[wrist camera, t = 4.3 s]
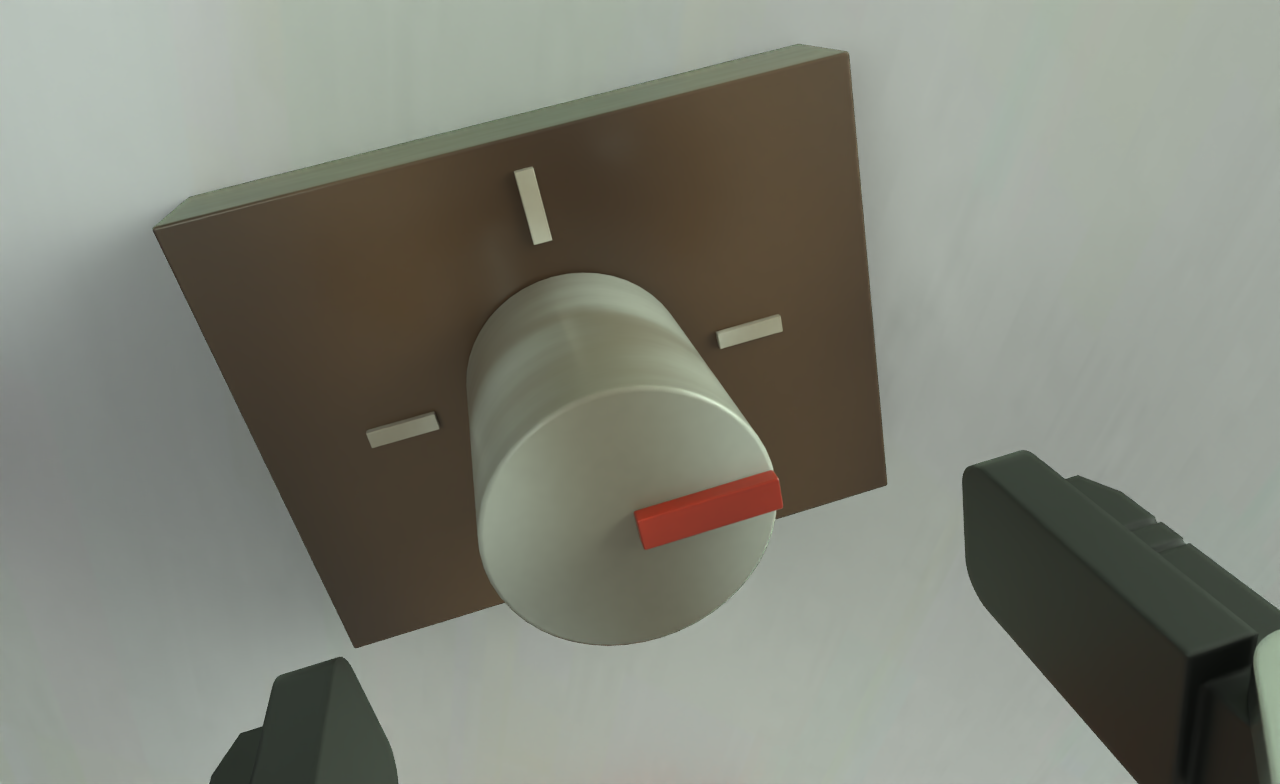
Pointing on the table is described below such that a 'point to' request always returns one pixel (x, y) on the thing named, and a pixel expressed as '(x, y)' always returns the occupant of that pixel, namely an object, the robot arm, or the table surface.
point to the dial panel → (514, 259)
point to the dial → (610, 465)
